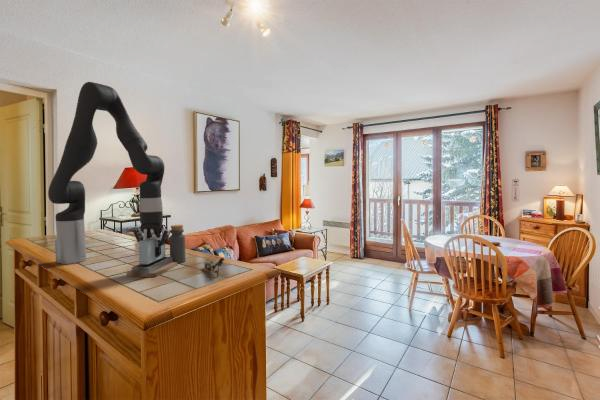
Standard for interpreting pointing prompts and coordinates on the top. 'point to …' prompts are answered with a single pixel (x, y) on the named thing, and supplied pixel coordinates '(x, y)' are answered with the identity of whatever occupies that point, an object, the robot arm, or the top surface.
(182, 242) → the bottle
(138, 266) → the grey piece
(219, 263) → the figurine
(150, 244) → the door
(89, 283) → the top surface
